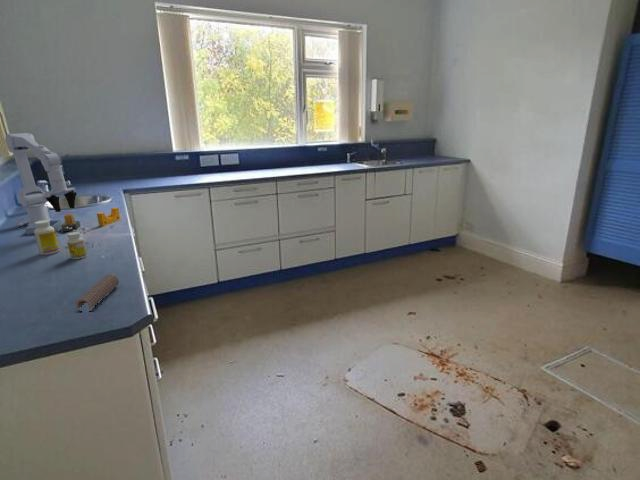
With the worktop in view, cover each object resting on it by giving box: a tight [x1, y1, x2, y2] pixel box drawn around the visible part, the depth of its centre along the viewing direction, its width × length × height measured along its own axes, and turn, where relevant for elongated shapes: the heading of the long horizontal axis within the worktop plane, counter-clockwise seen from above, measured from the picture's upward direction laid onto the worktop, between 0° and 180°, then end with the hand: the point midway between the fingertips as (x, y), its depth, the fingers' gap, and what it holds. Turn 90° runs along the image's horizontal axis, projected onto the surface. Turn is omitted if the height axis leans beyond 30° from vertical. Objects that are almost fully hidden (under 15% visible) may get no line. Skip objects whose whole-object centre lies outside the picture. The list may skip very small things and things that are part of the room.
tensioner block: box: [61, 220, 81, 234], centre depth 183 cm, size 11×6×3 cm, turn 15°
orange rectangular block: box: [63, 213, 76, 224], centre depth 185 cm, size 3×3×6 cm
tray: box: [24, 219, 64, 236], centre depth 183 cm, size 11×11×3 cm
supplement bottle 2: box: [66, 231, 88, 260], centre depth 147 cm, size 5×5×10 cm
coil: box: [74, 273, 120, 309], centre depth 114 cm, size 5×5×18 cm
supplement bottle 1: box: [33, 220, 60, 256], centre depth 151 cm, size 7×7×13 cm
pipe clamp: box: [96, 207, 121, 227], centre depth 193 cm, size 12×4×6 cm, turn 169°
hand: (65, 209), depth 178 cm, fingers open, 7 cm apart
